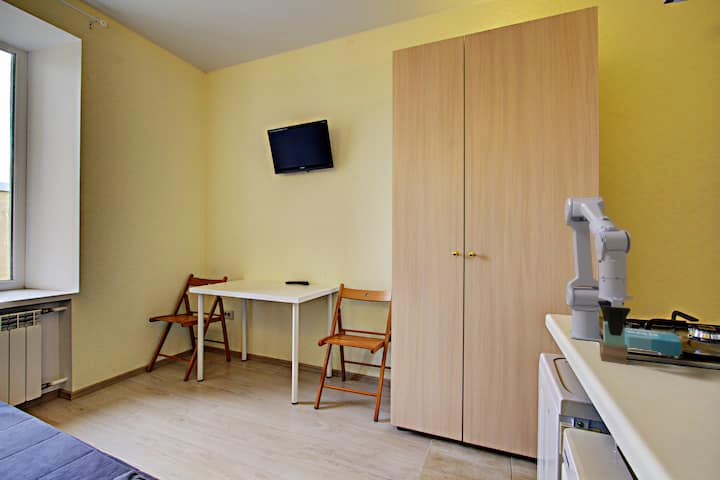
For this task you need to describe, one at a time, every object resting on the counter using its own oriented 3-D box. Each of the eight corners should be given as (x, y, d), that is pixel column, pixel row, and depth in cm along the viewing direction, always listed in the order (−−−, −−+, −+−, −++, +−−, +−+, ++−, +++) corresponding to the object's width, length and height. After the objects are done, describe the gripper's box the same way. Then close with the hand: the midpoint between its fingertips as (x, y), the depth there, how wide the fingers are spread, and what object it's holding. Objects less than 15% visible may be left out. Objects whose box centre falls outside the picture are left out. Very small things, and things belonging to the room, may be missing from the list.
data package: (623, 335, 95) (621, 327, 105) (623, 352, 95) (622, 342, 105) (683, 342, 88) (675, 332, 98) (683, 360, 88) (675, 349, 98)
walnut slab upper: (599, 348, 92) (599, 339, 92) (623, 351, 90) (622, 342, 90) (602, 353, 88) (602, 344, 88) (627, 356, 86) (627, 346, 86)
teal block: (603, 340, 92) (602, 321, 92) (622, 342, 90) (621, 322, 90) (605, 344, 88) (604, 324, 88) (624, 346, 86) (624, 325, 86)
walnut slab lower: (600, 357, 92) (599, 348, 92) (623, 360, 90) (623, 351, 90) (601, 362, 88) (601, 353, 88) (626, 365, 85) (626, 356, 86)
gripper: (638, 281, 81) (639, 340, 81) (626, 276, 94) (627, 327, 94) (601, 280, 84) (602, 336, 84) (595, 275, 97) (595, 324, 97)
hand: (613, 331), depth 89 cm, fingers open, 7 cm apart
